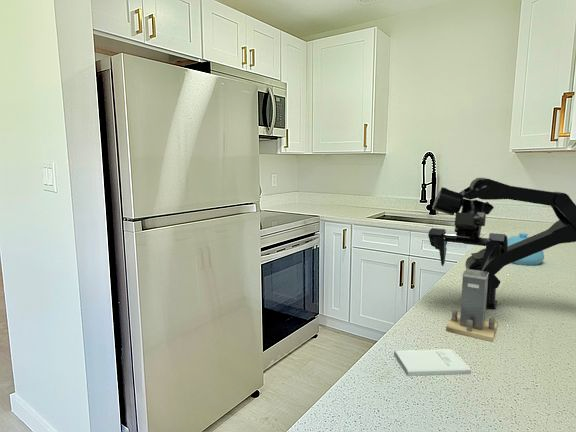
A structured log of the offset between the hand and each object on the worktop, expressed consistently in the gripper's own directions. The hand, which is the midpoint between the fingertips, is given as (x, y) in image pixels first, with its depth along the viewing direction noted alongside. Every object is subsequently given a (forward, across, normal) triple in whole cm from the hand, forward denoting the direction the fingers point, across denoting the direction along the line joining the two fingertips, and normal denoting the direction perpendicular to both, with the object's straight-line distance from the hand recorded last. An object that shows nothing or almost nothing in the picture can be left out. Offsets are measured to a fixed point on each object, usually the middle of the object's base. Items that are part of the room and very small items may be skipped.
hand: (461, 267), depth 95 cm
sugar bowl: (-42, +10, +62) cm, 75 cm away
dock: (+13, +4, +6) cm, 15 cm away
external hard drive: (+29, 0, -9) cm, 30 cm away
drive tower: (+12, +4, +6) cm, 14 cm away
